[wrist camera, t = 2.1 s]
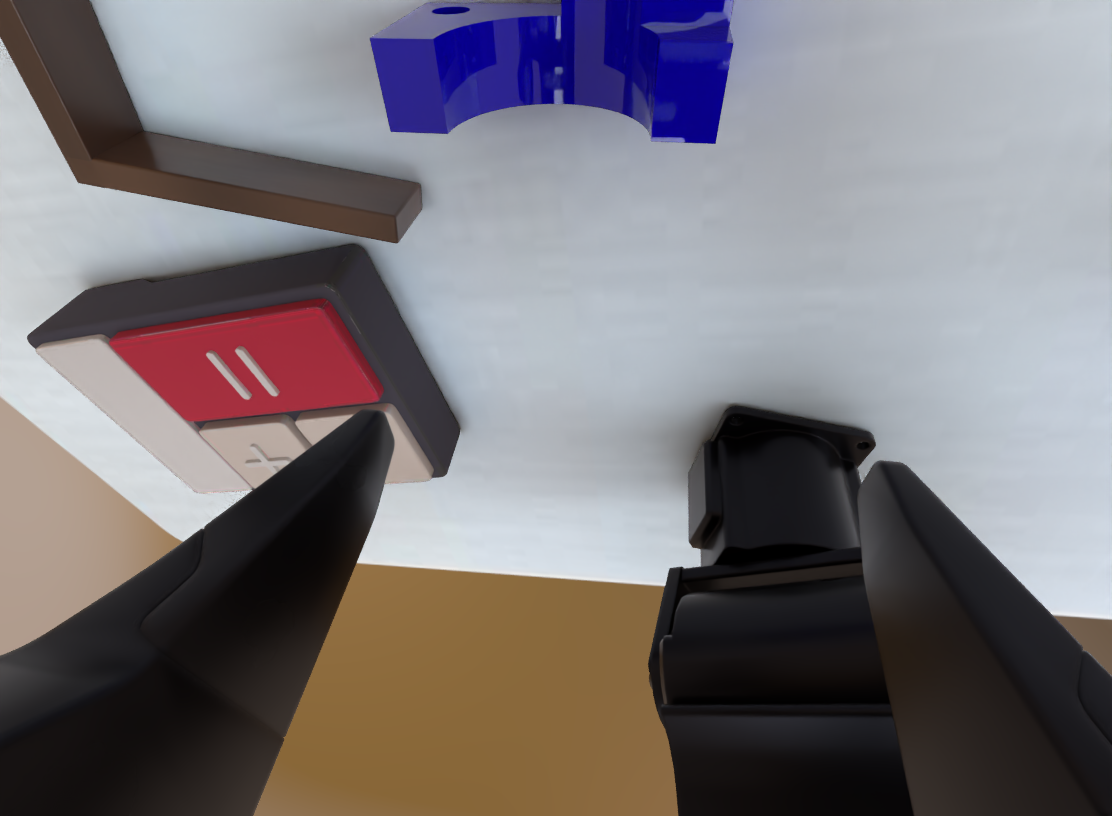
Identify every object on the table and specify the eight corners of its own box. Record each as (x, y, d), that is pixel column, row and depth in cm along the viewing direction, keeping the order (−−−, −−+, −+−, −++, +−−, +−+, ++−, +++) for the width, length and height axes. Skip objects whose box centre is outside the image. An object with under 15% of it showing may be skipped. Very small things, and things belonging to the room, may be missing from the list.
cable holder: (735, -74, 13) (750, -51, 10) (709, 90, 16) (715, 143, 13) (415, -70, 14) (350, -49, 11) (439, 83, 17) (390, 131, 14)
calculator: (445, 491, 26) (190, 506, 29) (466, 424, 29) (232, 446, 32) (323, 294, 18) (3, 348, 22) (368, 233, 21) (80, 289, 25)
